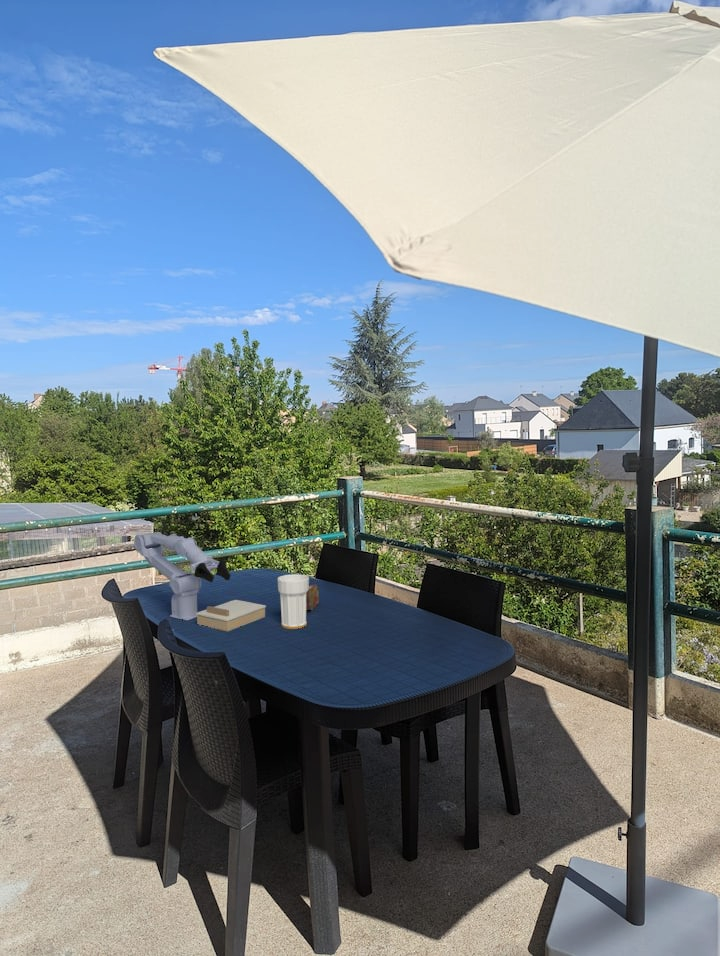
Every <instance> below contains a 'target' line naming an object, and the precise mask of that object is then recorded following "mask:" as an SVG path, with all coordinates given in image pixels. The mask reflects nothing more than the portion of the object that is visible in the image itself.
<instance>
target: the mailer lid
mask: <svg viewBox="0 0 720 956" xmlns="http://www.w3.org/2000/svg"><path fill="white" fill-rule="evenodd" d="M266 607H267V605H265V604H259V603H254V602H250V601H244V600H239V599H234V600H230V601H227V602H225V603H222V604H219V605H216V606H209V605H208V606H206V609H204V610H201V611H197V613H196V615H201V616H205V617H210V618H214V619H219V620H224V621H230V620H232V619H235V618H238V617H240V616H243V615H246V614H249V613H251V612H254V611H257V610H259V609H262V608H265V609H266Z"/></svg>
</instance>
